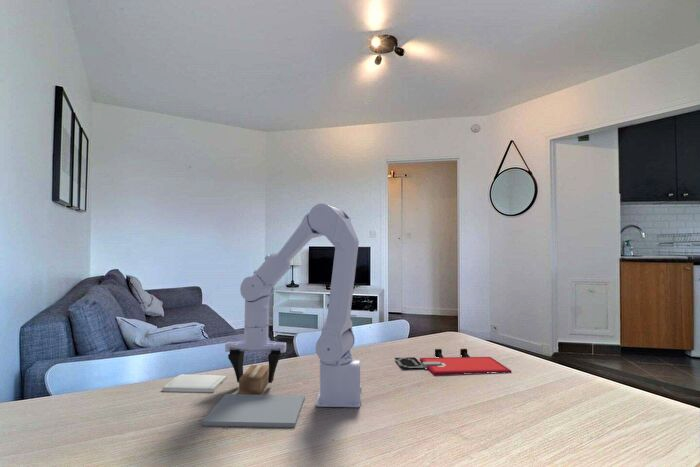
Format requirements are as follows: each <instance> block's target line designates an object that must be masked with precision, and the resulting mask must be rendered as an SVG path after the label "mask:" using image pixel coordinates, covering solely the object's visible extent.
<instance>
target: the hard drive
mask: <svg viewBox="0 0 700 467" xmlns="http://www.w3.org/2000/svg"><path fill="white" fill-rule="evenodd" d="M227 380H228V375H215V374H213V375H212V374H211V375H210V374H182V373H181V374H179V375H177V376H176V377H175V378H173V379H171V380H170V381H169V382H167V384H164V385H163V387H162V392H183V393H185V392H186V393H187V392H188V393H190V392H191V393H215V392H216V391H217V390H218V389H219V388H220V387H221V386H222V385H223V384H224V383H225V382H226V381H227Z"/></svg>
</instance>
